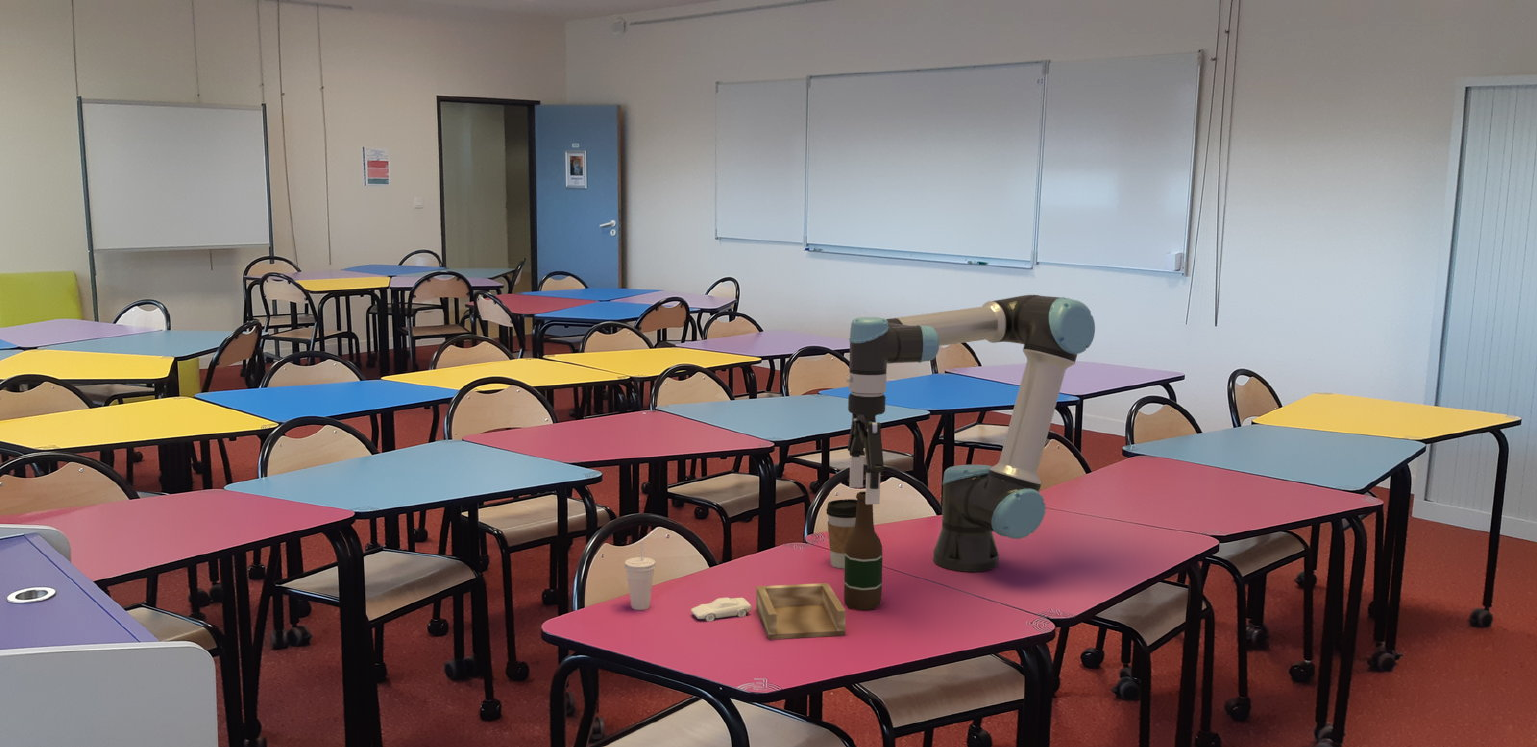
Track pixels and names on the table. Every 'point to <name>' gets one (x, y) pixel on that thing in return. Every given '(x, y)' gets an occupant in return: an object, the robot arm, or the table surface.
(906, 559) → the table surface
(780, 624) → the u rest
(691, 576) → the table surface
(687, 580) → the table surface
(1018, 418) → the robot arm
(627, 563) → the smoothie
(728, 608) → the toy car
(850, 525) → the coffee cup
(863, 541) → the beer bottle
